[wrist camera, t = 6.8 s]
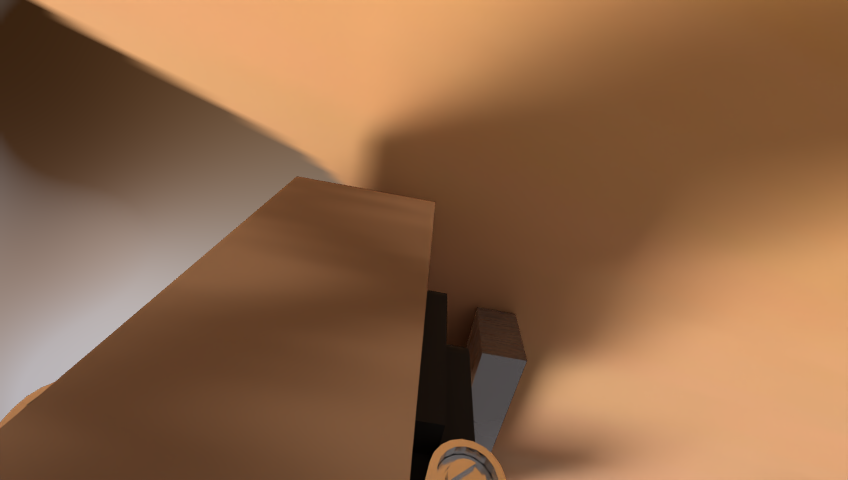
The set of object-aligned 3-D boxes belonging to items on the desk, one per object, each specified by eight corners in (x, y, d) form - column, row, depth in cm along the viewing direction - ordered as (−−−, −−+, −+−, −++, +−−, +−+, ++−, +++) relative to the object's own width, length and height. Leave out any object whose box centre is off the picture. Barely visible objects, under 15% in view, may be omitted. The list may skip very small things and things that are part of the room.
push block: (435, 202, 11) (375, 843, 2) (396, 395, 15) (313, 939, 6) (297, 176, 11) (-365, 739, 2) (291, 378, 15) (42, 900, 6)
